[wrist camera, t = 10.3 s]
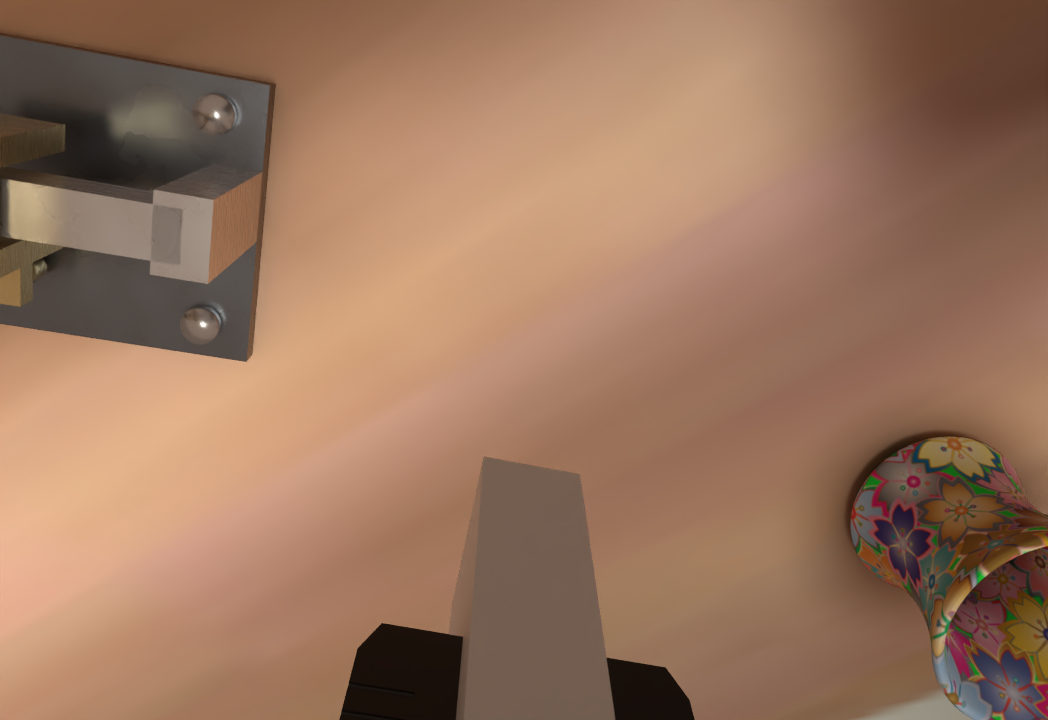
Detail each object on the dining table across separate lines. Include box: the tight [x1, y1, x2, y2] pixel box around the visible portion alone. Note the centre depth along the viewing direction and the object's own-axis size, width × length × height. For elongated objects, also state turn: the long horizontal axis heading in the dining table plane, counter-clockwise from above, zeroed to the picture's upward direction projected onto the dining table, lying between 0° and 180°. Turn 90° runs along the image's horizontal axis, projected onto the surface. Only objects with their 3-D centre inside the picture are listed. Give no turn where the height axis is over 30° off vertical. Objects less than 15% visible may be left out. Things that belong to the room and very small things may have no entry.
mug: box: [850, 436, 1048, 720], centre depth 40 cm, size 12×9×11 cm
